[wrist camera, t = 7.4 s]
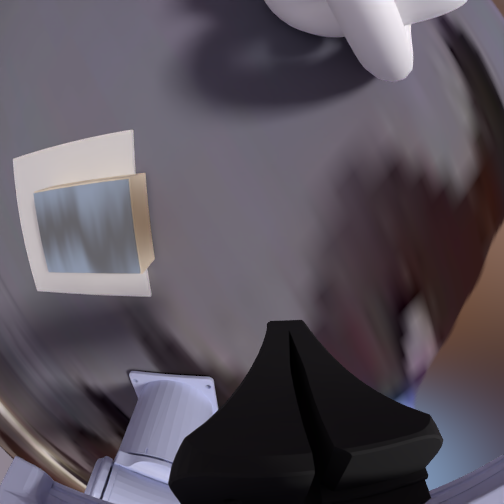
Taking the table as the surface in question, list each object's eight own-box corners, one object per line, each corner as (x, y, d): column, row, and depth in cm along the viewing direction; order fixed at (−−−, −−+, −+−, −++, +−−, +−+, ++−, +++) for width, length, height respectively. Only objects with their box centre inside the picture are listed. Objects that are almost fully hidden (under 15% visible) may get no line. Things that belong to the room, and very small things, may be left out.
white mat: (151, 294, 21) (150, 296, 21) (39, 289, 21) (37, 290, 21) (133, 129, 17) (131, 129, 17) (15, 158, 17) (12, 158, 17)
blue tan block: (141, 275, 17) (48, 273, 17) (154, 259, 20) (66, 260, 20) (128, 177, 15) (32, 192, 15) (145, 172, 18) (54, 185, 18)
